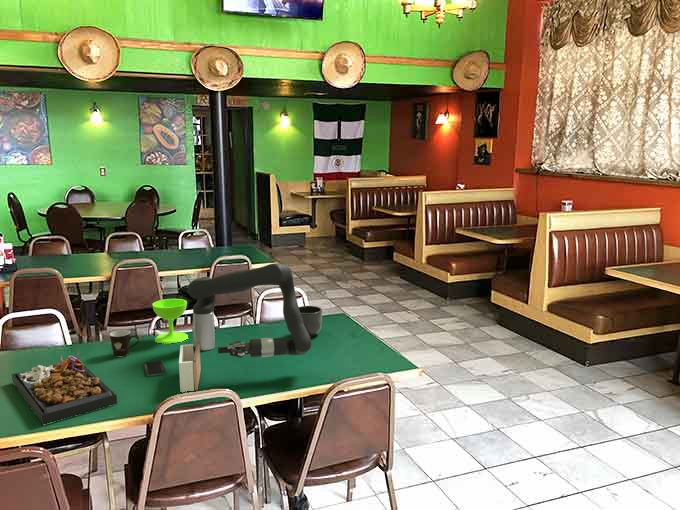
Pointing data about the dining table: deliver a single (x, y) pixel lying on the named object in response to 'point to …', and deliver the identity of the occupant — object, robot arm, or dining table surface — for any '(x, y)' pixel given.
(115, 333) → the coffee mug
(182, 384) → the box
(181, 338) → the wineglass
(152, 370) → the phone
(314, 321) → the planter
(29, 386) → the food platter
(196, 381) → the panel
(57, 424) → the dining table surface
